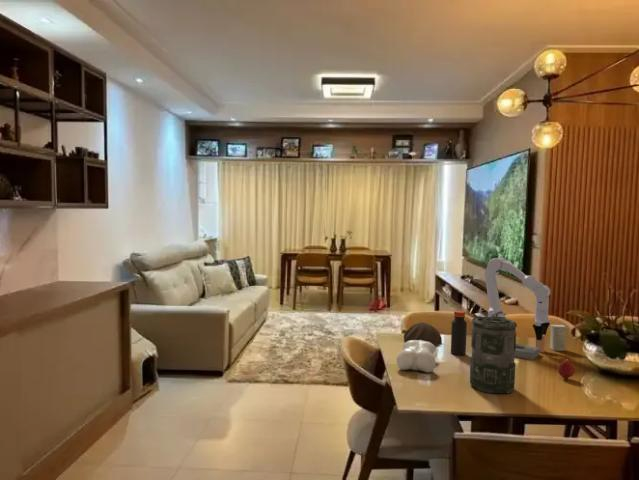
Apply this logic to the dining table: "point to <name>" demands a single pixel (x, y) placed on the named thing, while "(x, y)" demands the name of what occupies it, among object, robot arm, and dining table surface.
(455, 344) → the bottle
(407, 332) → the decorative dome
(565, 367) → the onion
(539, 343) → the rust peg
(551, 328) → the skincare box
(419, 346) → the torso sculpture
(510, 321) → the canister
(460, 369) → the dining table surface
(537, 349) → the grey flat block
